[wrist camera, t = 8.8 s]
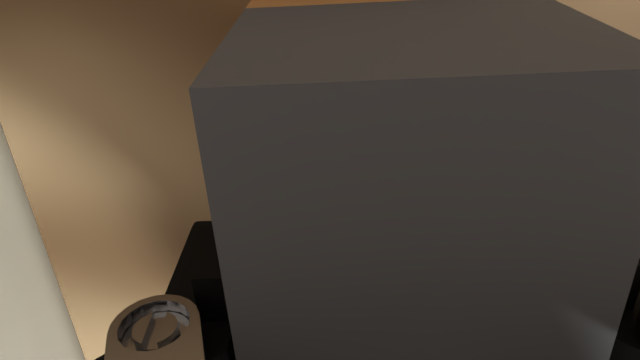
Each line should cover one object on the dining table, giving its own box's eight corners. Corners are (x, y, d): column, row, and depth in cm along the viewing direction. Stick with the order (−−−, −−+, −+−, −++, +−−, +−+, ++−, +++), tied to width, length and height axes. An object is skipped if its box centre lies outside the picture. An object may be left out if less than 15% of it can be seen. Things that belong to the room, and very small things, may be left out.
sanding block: (251, 0, 10) (188, 88, 5) (525, -14, 10) (697, 65, 5) (288, 352, 14) (271, 563, 10) (478, 347, 14) (549, 559, 9)
